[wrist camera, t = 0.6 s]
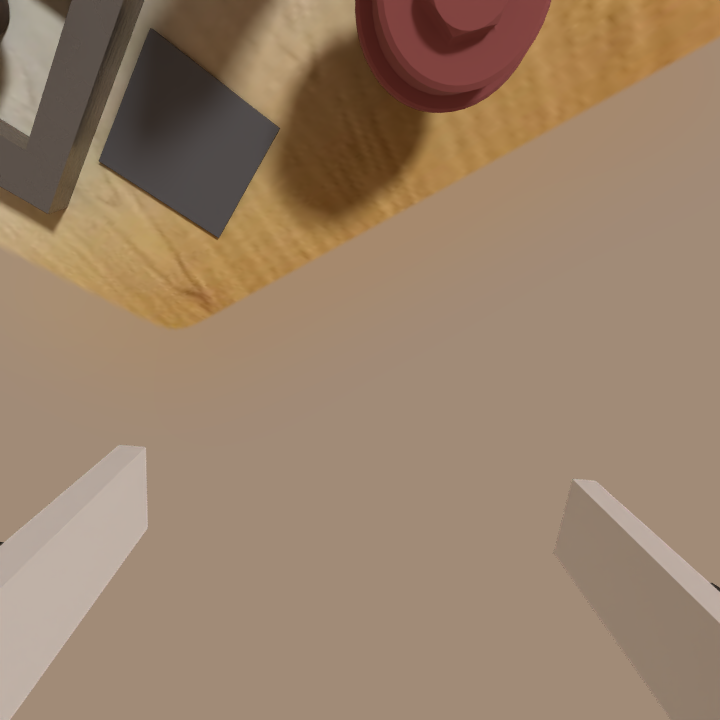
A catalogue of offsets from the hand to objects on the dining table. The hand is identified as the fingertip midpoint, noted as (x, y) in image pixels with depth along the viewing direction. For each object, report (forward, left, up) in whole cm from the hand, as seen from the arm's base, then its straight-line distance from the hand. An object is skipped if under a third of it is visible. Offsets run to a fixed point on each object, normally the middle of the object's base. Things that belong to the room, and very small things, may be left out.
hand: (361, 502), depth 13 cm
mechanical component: (-16, -5, -28) cm, 32 cm away
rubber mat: (0, -15, -27) cm, 31 cm away
